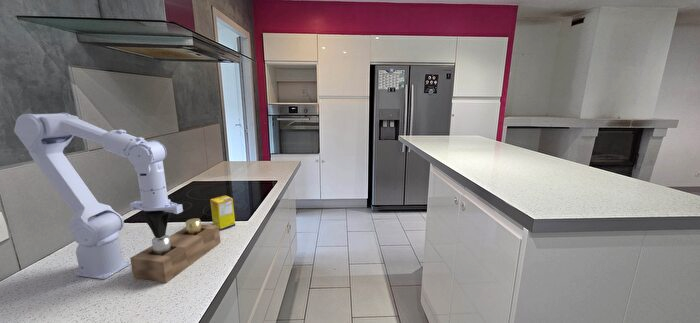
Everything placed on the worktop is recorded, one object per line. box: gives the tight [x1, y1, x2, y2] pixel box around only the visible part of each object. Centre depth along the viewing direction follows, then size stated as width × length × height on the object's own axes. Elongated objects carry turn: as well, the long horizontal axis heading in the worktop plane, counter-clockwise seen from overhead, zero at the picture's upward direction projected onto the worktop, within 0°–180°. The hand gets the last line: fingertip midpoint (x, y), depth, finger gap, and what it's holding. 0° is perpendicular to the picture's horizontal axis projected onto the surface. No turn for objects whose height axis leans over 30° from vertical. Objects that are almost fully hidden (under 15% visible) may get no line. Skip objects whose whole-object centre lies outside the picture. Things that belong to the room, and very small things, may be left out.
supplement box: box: [210, 195, 236, 232], centre depth 106 cm, size 6×6×11 cm
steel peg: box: [151, 234, 171, 256], centre depth 77 cm, size 4×4×6 cm
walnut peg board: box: [129, 224, 221, 284], centre depth 84 cm, size 10×22×6 cm, turn 169°
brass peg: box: [185, 217, 202, 235], centre depth 89 cm, size 4×4×6 cm
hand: (160, 236), depth 77 cm, fingers closed
